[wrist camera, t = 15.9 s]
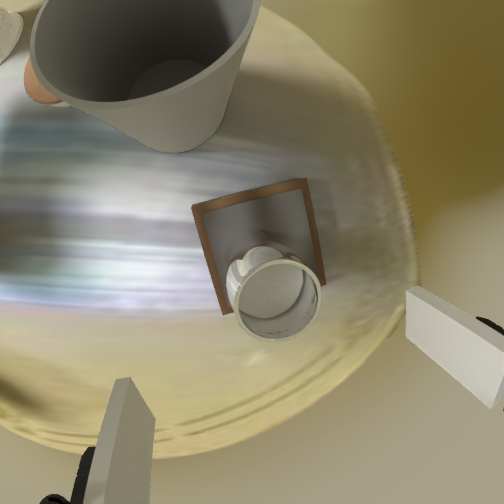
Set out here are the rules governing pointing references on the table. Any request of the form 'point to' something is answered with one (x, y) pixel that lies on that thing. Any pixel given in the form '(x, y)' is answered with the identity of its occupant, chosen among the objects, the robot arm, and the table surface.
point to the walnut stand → (259, 226)
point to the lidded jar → (39, 89)
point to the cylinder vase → (144, 63)
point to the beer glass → (269, 287)
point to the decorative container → (9, 32)
